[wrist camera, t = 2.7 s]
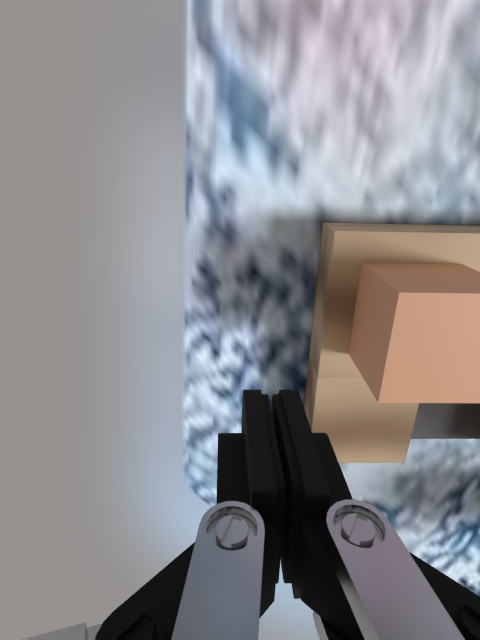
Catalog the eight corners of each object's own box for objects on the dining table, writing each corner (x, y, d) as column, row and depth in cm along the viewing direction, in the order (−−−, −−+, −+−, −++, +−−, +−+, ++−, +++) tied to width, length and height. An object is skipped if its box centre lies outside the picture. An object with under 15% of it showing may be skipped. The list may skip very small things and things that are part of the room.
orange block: (361, 262, 19) (399, 292, 15) (462, 264, 19) (527, 294, 15) (348, 353, 21) (377, 403, 17) (440, 354, 21) (492, 403, 17)
